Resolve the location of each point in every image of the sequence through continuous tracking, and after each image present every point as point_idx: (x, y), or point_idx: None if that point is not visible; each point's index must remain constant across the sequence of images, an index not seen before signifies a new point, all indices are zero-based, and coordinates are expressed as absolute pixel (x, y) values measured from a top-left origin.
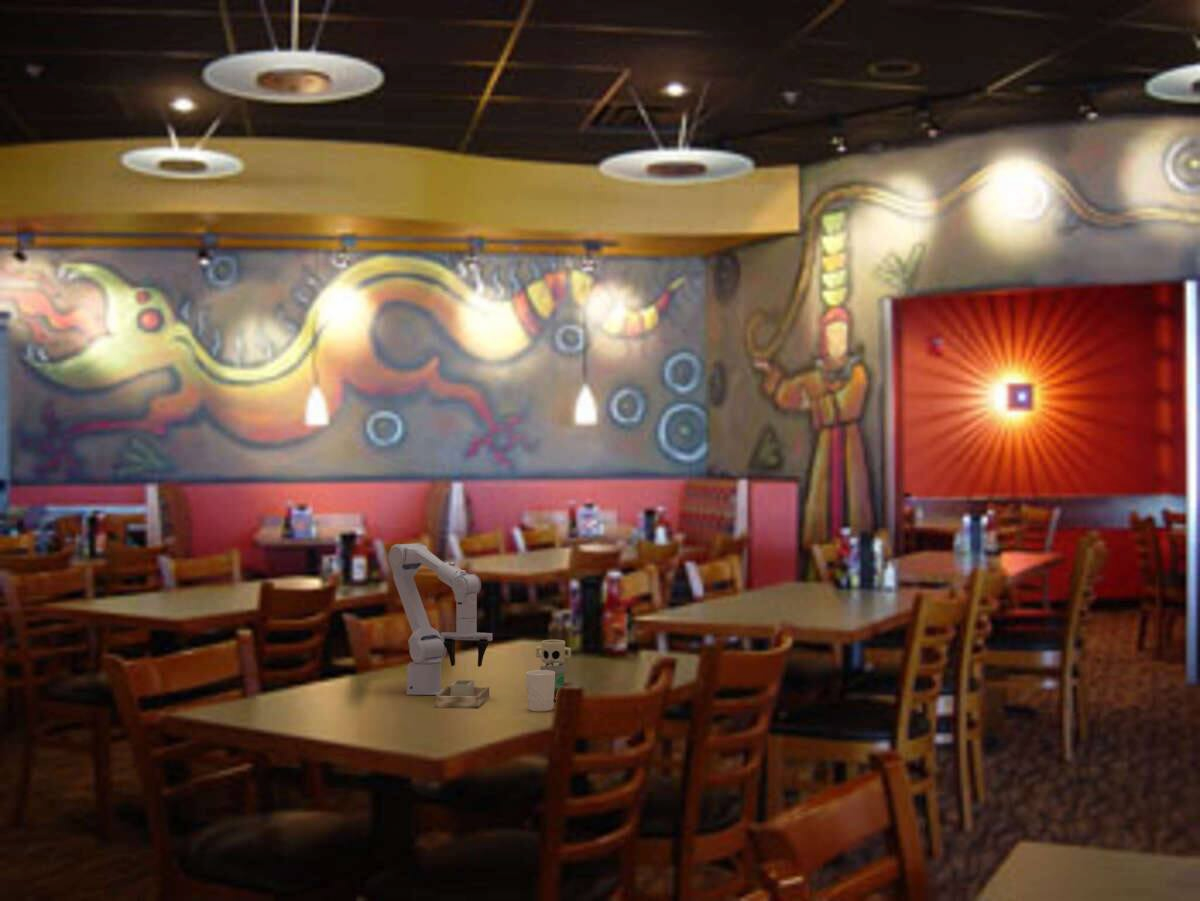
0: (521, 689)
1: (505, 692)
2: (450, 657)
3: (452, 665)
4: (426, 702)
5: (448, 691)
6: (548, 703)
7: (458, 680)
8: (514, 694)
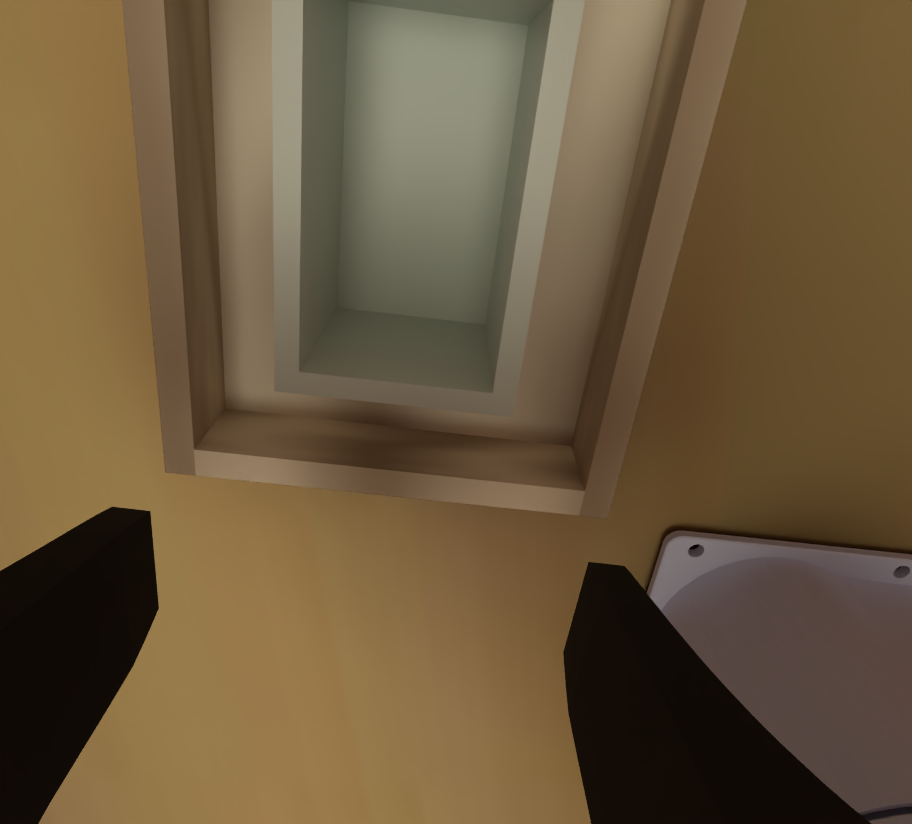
0: None
1: None
2: (689, 666)
3: (607, 569)
4: (812, 195)
5: (592, 414)
6: None
7: (487, 394)
8: None
